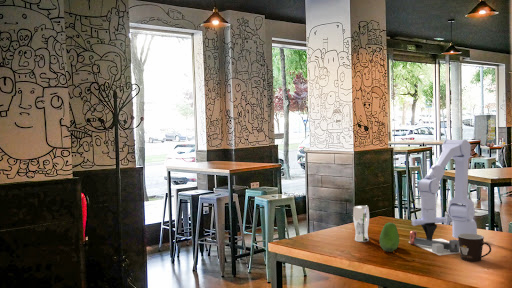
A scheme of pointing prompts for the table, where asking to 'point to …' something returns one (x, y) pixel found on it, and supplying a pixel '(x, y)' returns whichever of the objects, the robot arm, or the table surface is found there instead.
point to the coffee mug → (471, 247)
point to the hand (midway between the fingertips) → (429, 241)
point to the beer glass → (361, 223)
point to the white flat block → (437, 248)
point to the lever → (451, 246)
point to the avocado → (389, 237)
